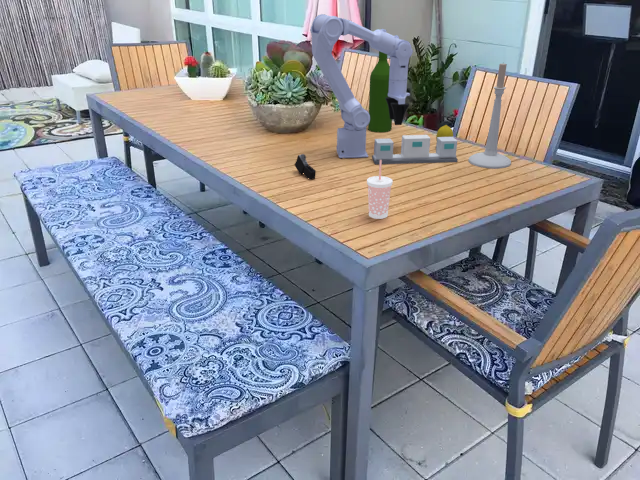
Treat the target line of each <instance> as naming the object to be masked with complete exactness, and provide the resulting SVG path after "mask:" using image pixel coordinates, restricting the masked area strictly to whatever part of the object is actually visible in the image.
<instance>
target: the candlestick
mask: <svg viewBox="0 0 640 480" xmlns="http://www.w3.org/2000/svg"><path fill="white" fill-rule="evenodd" d="M507 65H508V64H507V63H499V64H498V74H497V80H496V86H493V89H494V94H495V99H494V102H493V108H492V112H491V113H492V114H491V116H490V117H491V119H490V122H489V128H488V134H487V138H486V144H485V149H484V151H483V152H482V151H481V152H477V153H474V154H472V155H470V156H469V157H468V163H469V164H471V165H473V166H475V167H477V168H483V169H492V170H493V169H497V170H498V169H504V168H508V167H510V166H511V165H512V160H511V159H510V158H509V157H507V156H506V155H504V154H502V153H498V143H499V142H498V141H499V133H500V132H499V131H500V121H501V109H502V97H503V95H504V93H505V90H506V89H507V87H506V86H504V85H505V78H506V73H507V72H506V71H507V67H508V66H507Z"/></svg>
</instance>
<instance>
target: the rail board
mask: <svg viewBox="0 0 640 480" xmlns="http://www.w3.org/2000/svg"><path fill="white" fill-rule="evenodd" d="M394 144H395V143H394V141H393V140H392V139H391V138H374V148H373V154H372V155H371V156H372V157H371V158H372V161H373V163H374V165H379V164H380V160H382V164H381V165H399V164H400V165H401V164H402V165H403V164H406V165H407V164H433V163H434V164H435V163H436V164H437V163H458V158H457V149H458V148H457V147H458V140H457V139H456V138H455V137H454V136H453V137H437V140H436V145H435V152H433V153H432V152H429V157H413V158H403V156H402V155H401V153H397V154H396V153H395V154H394Z"/></svg>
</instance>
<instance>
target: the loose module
mask: <svg viewBox="0 0 640 480" xmlns="http://www.w3.org/2000/svg"><path fill="white" fill-rule="evenodd" d="M400 147H401V148H400V154H401V155H402V156H403V158H413V157H429V153H430V147H431V137H430V136H429V135H428V134H415V135H414V134H409V135H407V134H406V135H404V134H403V135H401V146H400Z"/></svg>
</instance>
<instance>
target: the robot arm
mask: <svg viewBox="0 0 640 480" xmlns="http://www.w3.org/2000/svg"><path fill="white" fill-rule="evenodd" d="M309 31H310V33H311V54H312V56H313V58H314V60H315V62H316V64H317V66H318V67H319V69H320V71H321V74H323V76H324V79H325V80H326V82H327V84H328V85H329V87H330V89H331V90H332V92H333V95H334V97H335V98H336V100H337V102H338V108H339V110H340V116H341V119H342V121H343V122H344V123H343V127H338V128H337V131H336V153H337V155H338V158H339V159H350V158H353V159H356V158H357V159H358V158H368V157H369V154H368V152H367V151H366V150H367V149H366V148H367V128H368V124H369V122H370V115H369V110H366V109H365V108H364V107H363V106H362V104H361V103H360V102H359V100H358V99H357V98H356V97H355V95H354V93H353V91H352V90H351V89H352V88H351V87H350V85H349V84H348V82H347V80H346V78H345V75H344V74H343V72H342V71H341V69H340V67H339V65H338V63H337V61H336V59H335V58H334V56H333V54H332V52H333V50H334V46H335V44H336V43H337V42H338V40H339V39H340V38H341V36H343V37H344V36H346V35H349V36H353V37H355V38H358V39H361V40H364V41H366V42H368V44H369V47H370V49H373V50H376V51H378V52H379V51H380V52H382V53H385V54H387V56H388V57H390V58H389V66H390V72H389V92H388V97H386V98H385V99H386V101H387V104H388V108H389V116H390V119H391V120H392V121H393V122H394V125H395V126H401V125H403V121H404V118H405V117H404V116H405V114H406V112H407V110H408V108H409V106H410V104H409V103H408V102H406V98H407V97H409V96H411V93H410V92H407V89H408V88H407V87H408V73H409V72H408V71H409V61H410V59H411V57H412V55H413V53H414V49H412V44H411V43H410V41H408V40H405V39H402V38H401V39H400V37H399V35H397V34H395V35H393V34H392V33H391V34H390V33H388V32H387V29H384V28H381V29H375V30H374V31H372V30H370V29H368V28H367V27H364V26H362V25H360V24H359V23H356V22H355V21H352V20H350V19H347V18H342V17H339V16H336V15H326V14H323V13H321V14H319V15H317V16H316V17H314V19H313V20H312V23H311V26H310V30H309Z"/></svg>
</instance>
